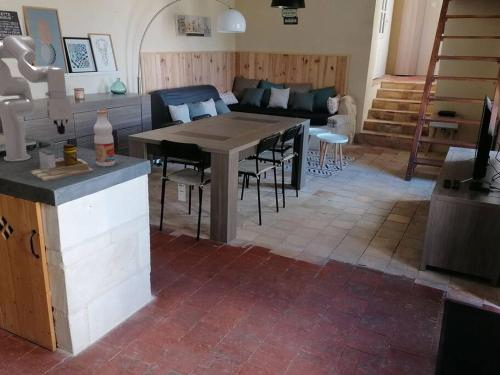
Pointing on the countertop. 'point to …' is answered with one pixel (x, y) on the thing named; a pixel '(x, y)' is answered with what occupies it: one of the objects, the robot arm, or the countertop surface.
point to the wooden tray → (63, 170)
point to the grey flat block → (47, 160)
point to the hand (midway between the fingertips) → (61, 133)
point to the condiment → (69, 155)
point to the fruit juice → (103, 141)
